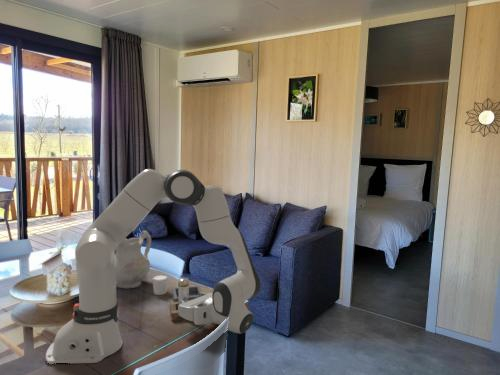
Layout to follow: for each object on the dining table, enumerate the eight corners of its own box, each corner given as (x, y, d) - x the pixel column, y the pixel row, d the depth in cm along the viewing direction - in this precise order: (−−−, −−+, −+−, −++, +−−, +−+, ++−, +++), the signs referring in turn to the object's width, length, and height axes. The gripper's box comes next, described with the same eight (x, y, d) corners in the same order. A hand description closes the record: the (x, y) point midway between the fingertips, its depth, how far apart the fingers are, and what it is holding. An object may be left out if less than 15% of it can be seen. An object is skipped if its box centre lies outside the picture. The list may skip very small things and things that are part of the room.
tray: (174, 307, 152) (174, 298, 152) (172, 295, 164) (172, 287, 163) (203, 304, 156) (203, 296, 155) (199, 293, 167) (199, 285, 167)
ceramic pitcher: (134, 275, 191) (130, 227, 189) (163, 279, 182) (159, 229, 180) (99, 289, 172) (94, 236, 170) (129, 295, 163) (125, 239, 161)
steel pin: (178, 316, 144) (178, 281, 142) (177, 312, 148) (177, 278, 146) (189, 315, 145) (189, 280, 144) (188, 310, 149) (188, 277, 147)
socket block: (171, 320, 140) (171, 313, 140) (169, 309, 150) (169, 302, 150) (197, 317, 143) (198, 310, 143) (194, 307, 153) (194, 300, 152)
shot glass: (164, 296, 163) (163, 280, 162) (149, 294, 165) (149, 279, 164) (170, 290, 170) (170, 275, 169) (156, 288, 171) (156, 274, 170)
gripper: (235, 292, 140) (211, 283, 150) (193, 309, 125) (168, 297, 135) (235, 308, 141) (211, 298, 150) (193, 326, 126) (168, 314, 135)
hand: (190, 297), depth 142 cm, fingers open, 8 cm apart
